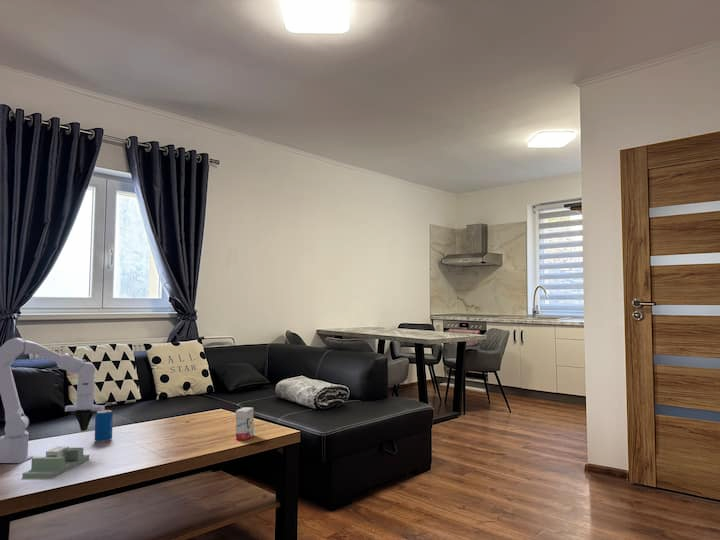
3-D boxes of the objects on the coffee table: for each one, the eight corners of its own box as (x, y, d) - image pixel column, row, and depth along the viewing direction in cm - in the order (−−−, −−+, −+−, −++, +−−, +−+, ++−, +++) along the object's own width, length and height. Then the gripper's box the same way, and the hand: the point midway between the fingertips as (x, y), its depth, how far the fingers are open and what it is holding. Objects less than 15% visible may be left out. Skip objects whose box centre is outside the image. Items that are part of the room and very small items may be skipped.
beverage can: (107, 442, 199) (108, 412, 200) (91, 442, 199) (92, 413, 200) (115, 438, 206) (115, 409, 207) (99, 438, 206) (100, 409, 207)
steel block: (45, 466, 164) (45, 451, 165) (57, 461, 170) (57, 446, 171) (56, 466, 164) (57, 451, 165) (68, 461, 170) (68, 446, 171)
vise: (22, 478, 158) (23, 462, 158) (62, 459, 178) (62, 445, 178) (52, 478, 158) (53, 462, 158) (88, 459, 177) (89, 445, 178)
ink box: (246, 440, 201) (246, 411, 202) (234, 440, 202) (235, 411, 203) (254, 435, 209) (254, 407, 210) (243, 434, 210) (243, 406, 211)
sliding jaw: (48, 460, 171) (49, 450, 171) (55, 457, 174) (56, 447, 175) (76, 460, 170) (77, 450, 170) (83, 457, 174) (83, 447, 174)
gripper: (60, 396, 184) (58, 432, 183) (97, 396, 184) (96, 433, 183) (72, 392, 191) (70, 428, 190) (108, 392, 191) (106, 428, 190)
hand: (84, 430), depth 187 cm, fingers closed
